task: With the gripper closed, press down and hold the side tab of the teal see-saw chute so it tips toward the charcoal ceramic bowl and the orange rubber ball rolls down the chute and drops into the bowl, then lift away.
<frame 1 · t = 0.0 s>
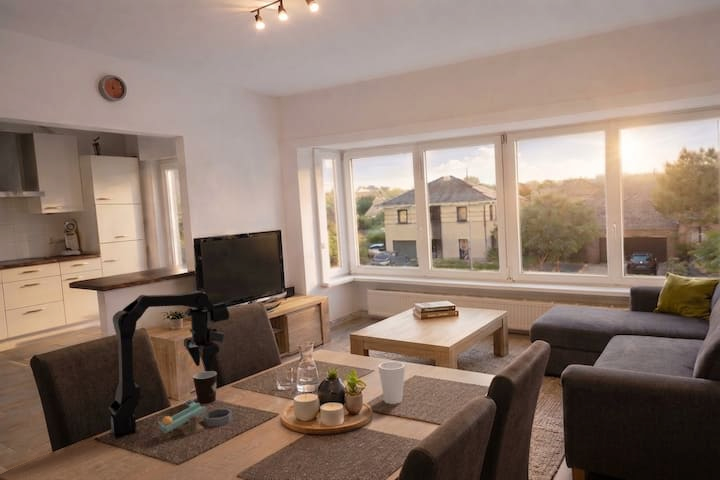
hand: (202, 368, 191), 15 cm above the table, fingers open, 9 cm apart
bowl: (218, 420, 181), on the table
coffee mug: (210, 400, 201), on the table
lever: (178, 413, 176), point 5 cm above the table, hinge at -12.9°, touching ball, fulcrum
foam cup: (393, 401, 191), on the table
ball: (167, 421, 170), point 5 cm above the table, tilted 10°, touching lever
fulcrum: (190, 429, 174), on the table
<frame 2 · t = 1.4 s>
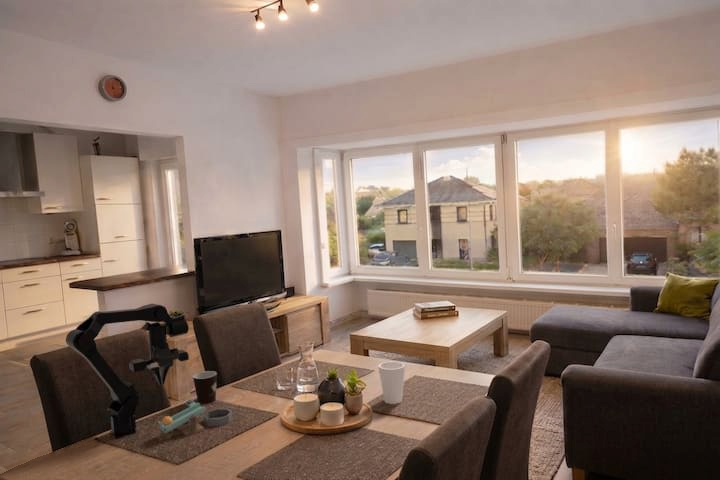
hand: (161, 384, 184), 12 cm above the table, fingers closed
nothing on the table moved.
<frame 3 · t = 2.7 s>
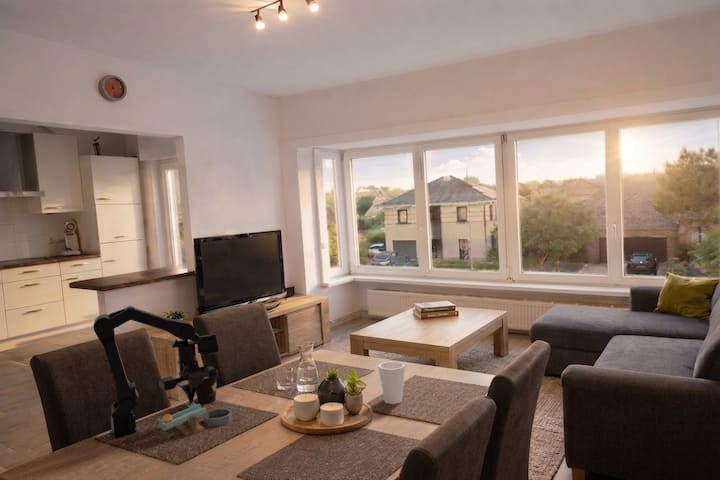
hand: (191, 402, 183), 6 cm above the table, fingers closed, pressing on lever
lever: (178, 412, 176), point 5 cm above the table, hinge at -6.6°, touching ball, gripper
ball: (167, 419, 170), point 6 cm above the table, touching lever
everything else where it was.
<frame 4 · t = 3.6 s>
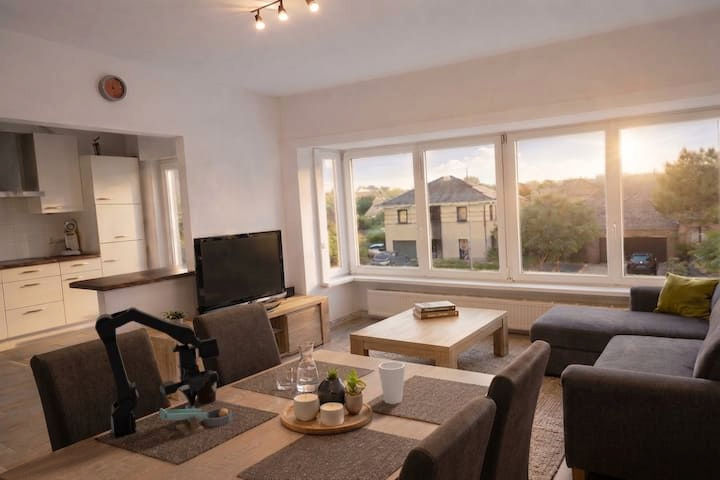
hand: (191, 406, 183), 4 cm above the table, fingers closed
lever: (179, 410, 176), point 6 cm above the table, hinge at 14.9°, touching gripper
ball: (223, 413, 182), point 2 cm above the table, tilted 14°, touching bowl
everything else where it was.
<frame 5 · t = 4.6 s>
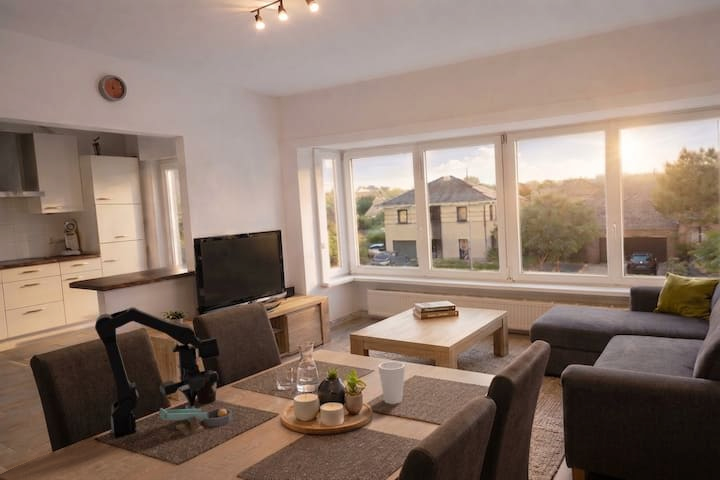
hand: (191, 406, 183), 4 cm above the table, fingers closed
ball: (222, 413, 181), point 2 cm above the table, tilted 29°, touching bowl
everything else where it was.
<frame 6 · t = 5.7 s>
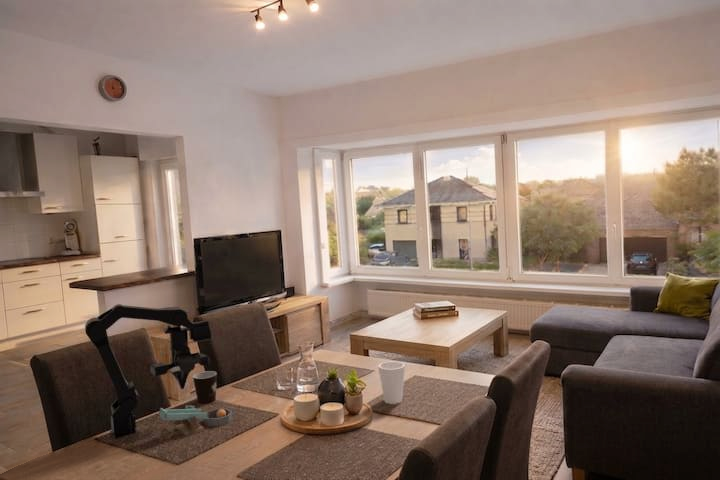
hand: (182, 388, 183), 11 cm above the table, fingers closed
lever: (179, 410, 176), point 6 cm above the table, hinge at 14.9°
ball: (221, 414, 181), point 2 cm above the table, tilted 46°, touching bowl
everything else where it was.
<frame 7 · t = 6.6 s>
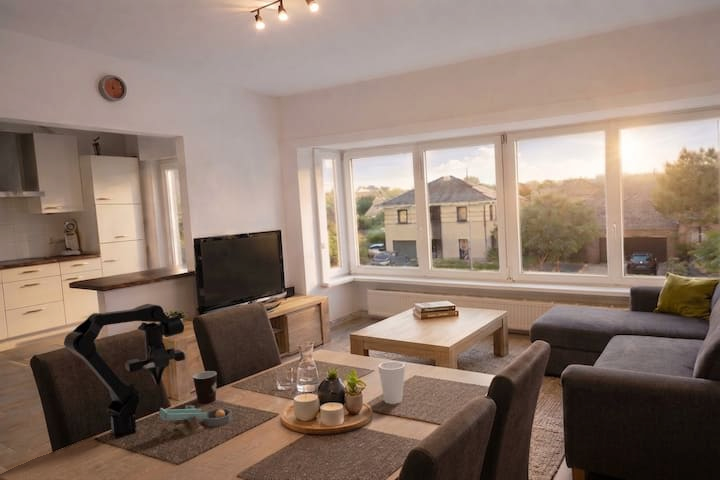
hand: (157, 384, 184), 12 cm above the table, fingers closed
ball: (220, 414, 181), point 2 cm above the table, tilted 60°, touching bowl
everything else where it was.
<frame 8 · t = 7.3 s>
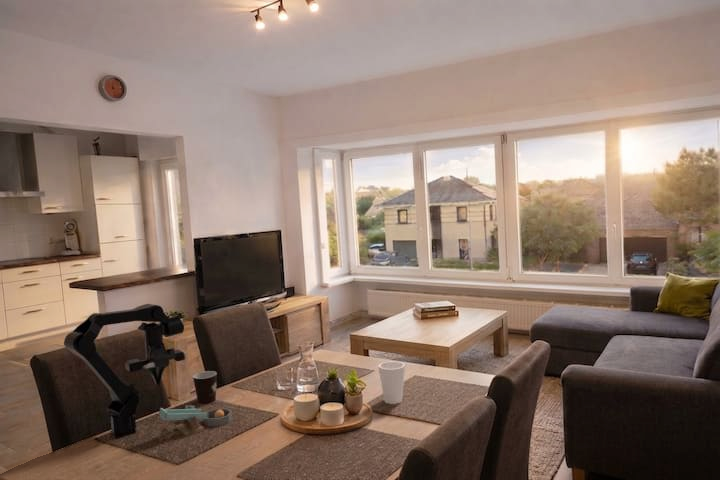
hand: (157, 384, 184), 12 cm above the table, fingers closed
ball: (219, 414, 181), point 2 cm above the table, tilted 71°, touching bowl
everything else where it was.
at the end: ball 0.5 cm off-centre on the bowl, point 1.9 cm above the bowl's base; ball touching bowl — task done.
